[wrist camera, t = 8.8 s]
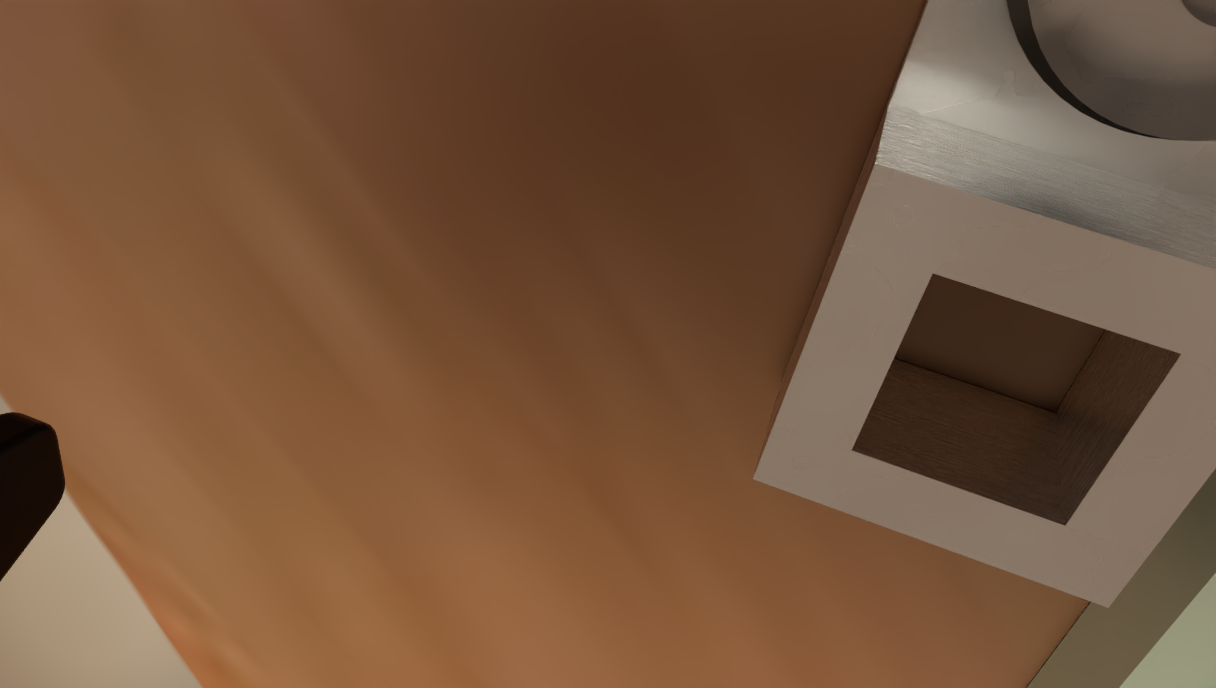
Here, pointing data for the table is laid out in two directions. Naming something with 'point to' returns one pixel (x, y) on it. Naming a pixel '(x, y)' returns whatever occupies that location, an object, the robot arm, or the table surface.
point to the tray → (1151, 617)
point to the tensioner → (1024, 290)
